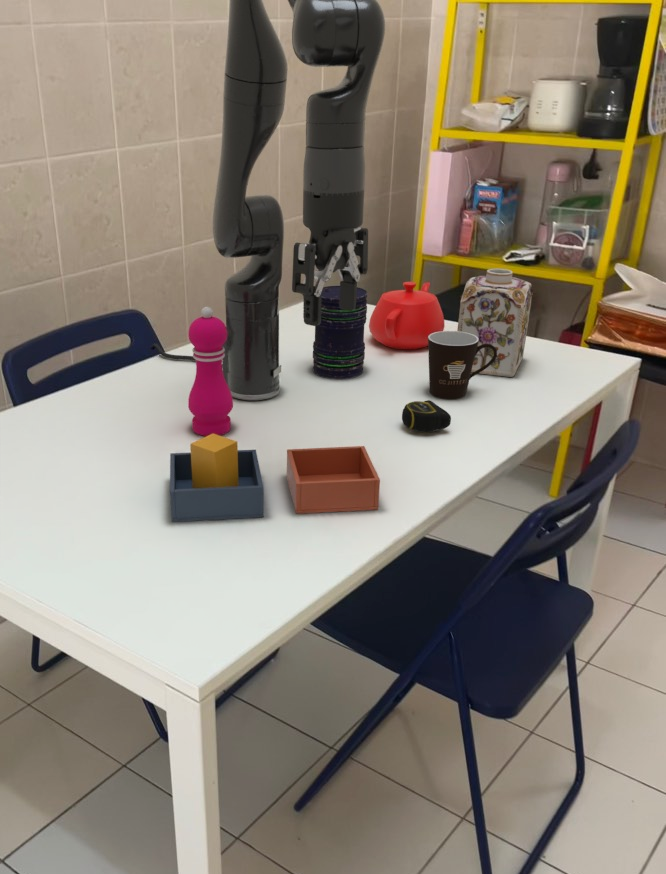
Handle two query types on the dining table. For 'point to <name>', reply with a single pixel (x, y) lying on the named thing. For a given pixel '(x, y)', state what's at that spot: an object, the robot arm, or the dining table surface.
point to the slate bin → (216, 491)
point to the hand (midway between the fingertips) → (330, 317)
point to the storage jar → (340, 336)
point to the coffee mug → (453, 362)
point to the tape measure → (425, 416)
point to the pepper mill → (209, 376)
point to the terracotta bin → (332, 479)
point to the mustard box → (214, 462)
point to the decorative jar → (497, 319)
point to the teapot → (406, 317)
